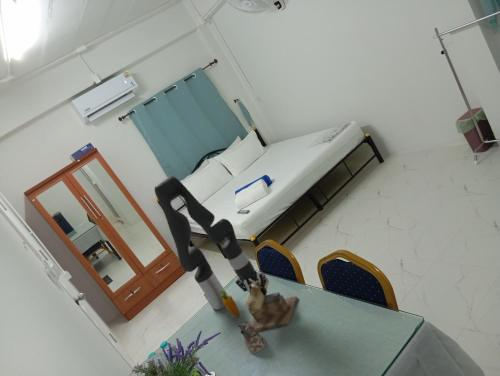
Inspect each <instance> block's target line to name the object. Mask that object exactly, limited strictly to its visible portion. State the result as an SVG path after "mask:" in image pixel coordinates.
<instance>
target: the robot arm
mask: <svg viewBox="0 0 500 376" xmlns="http://www.w3.org/2000/svg"><path fill="white" fill-rule="evenodd" d="M154 193H155V196H156V199H157V200H158V203H159V205H160V207H161V209H162V212H163V213H164V216H165V219H166V221H167V225H168V228H169V231H170V233H171V236H172V238H173V241H174V244H175V248H176V251H177V257H178V260H179V263H180V266H181V267H182V268H183V269H184V271H186V272H188V273H192V272H194V271H196V272H195V274H194V280H195V281H196V283H197V284H198V286H199V287H200V289H201V291H202V292H203V296H204V298H205V299H206V300H207V302H208V303H209V305H210V307H211V308H212V310H217V311H219V310H222V309H224V308H226V307H225V305H224V304H223V301H222V300H223V299H224V298H222V297H220V298H219V296H222V293H221V292H220V291H221V290H222V291H223V292H224V291H225V292H226V296H229V294H228V292H227V291H226V289H225V288H224V287H223V285H222V283H221V282H220V280H219V279H218V277H217V275H216V274H215V272H214V270H213V269H212V267H211V265H210V264H209V262H208V260H207V258H206V256H205V255H204V253H203V251H202V250H201V249H200V248H199V247H197V246H194V245H193V246H191V247H190V243H191V237H192V227H191V225H190V221H189V219H188V217H187V216H186V215H185V214H184V213H182V212H180V211H179V210H177V209H175V208H174V207H173V206H172V201H174V200H175V199H177V198H178V197H179V196H180V197H182V198H183V199H184V201H185V206H186V210H187V214H188V215H189V217H190V218H191V219H192V220H193V221H194V223H196V224H198V225H199V226H200V228H202V230H203V231H204V232H205V234H206V235H207V238H208V239H209V240H210V241H211V242H212V243H213V244H220V243H221V242H223V241H224V240H225V242H224V243H223V245H222V246H221V251H222V252H223V254H224V255H225V257H226V259H227V260H228V262H229V263H228V264H229V265H230V266H231V268H232V270H233V271H234V272H235V274H236V276H237V279H236V280H235V284H236V286H238V287H239V288H240V289H241V290H242V291H243V292H244V293H245V292H248V293H250V292H251V289H252V286H253V284H254V285H255V286H258V287H259V288H260V290H261V292H262V293H263V295H264V296H265V295H268V294H267V293H268V289H267V290H266V288H265V287H264V286H265V284H266V279H265V275H266V274H265V273H264V270H263V271H261V272H258V271H256V269H255V268H254V266H253V264H252V262H251V261H250V259H249V257H248V256H247V254H246V253H245V252H244V251H243V249H242V247H241V246H240V244H239V243H238V239H237V237H236V233H235V229H234V226H233V224H232V223H231V222H230V221H229V219H227V218H221V219H219V220H218V221H217V222H216V223H215V224H213V223H214V221H215V219H216V218H215V215H214V213H212V212H211V211H210V210H209V209H207V207H206V206H204V205H202V204H201V203H200V202H199V200H198V199H197V198H196V197H195V196H193V194H192V193H191V192H190V190H189V189H188V188H187V187H186V186H185V185H184V184H183V183H182V182H181V181H180V180H179V179H178V178H177V177H175V176H169V177H166V178H165V179H164V180H162V181H160V182H159V183H157V184H156V185H155V186H154ZM212 224H213V225H212ZM189 247H190V248H189ZM264 274H265V275H264ZM257 276H258V277H259V278H258V277H257ZM260 280H261V281H260ZM256 281H257V282H256Z"/></svg>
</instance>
